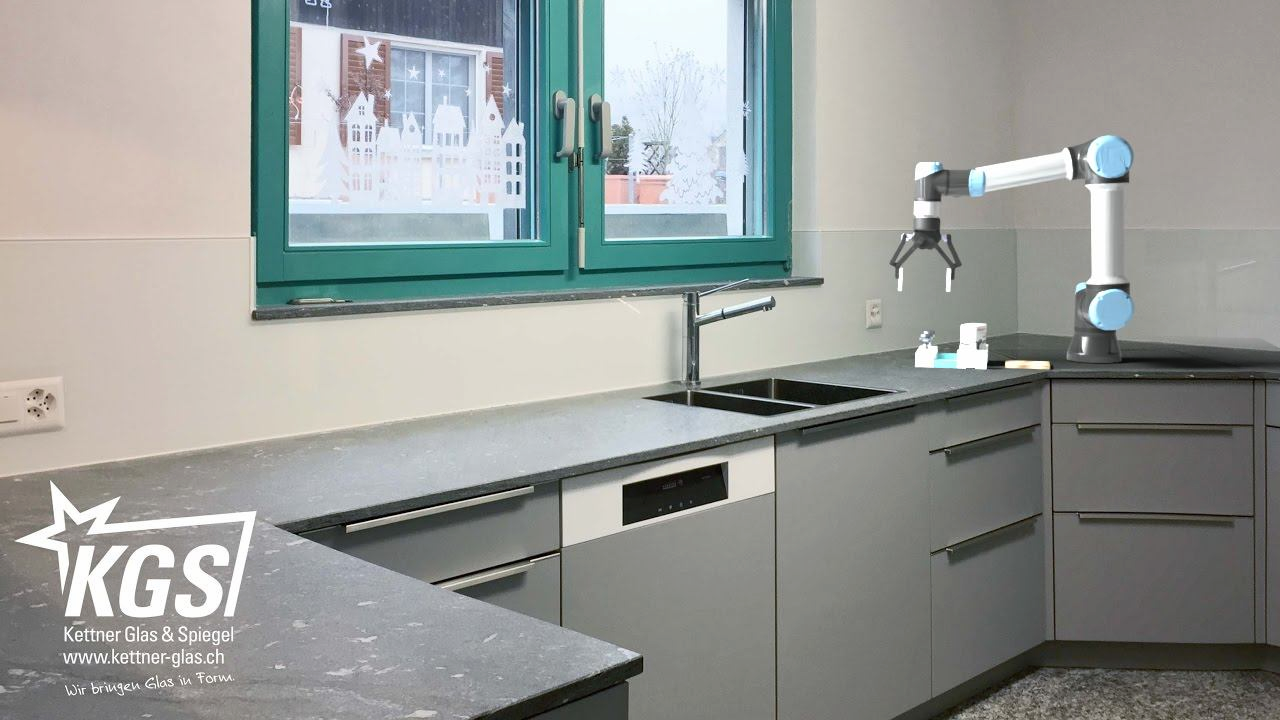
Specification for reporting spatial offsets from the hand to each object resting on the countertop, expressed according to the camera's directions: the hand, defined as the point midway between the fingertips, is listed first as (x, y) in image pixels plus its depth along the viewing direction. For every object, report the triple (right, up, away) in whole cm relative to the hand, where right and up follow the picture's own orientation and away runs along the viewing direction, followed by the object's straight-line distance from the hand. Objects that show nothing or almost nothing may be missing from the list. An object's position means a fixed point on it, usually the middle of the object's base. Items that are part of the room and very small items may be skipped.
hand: (924, 291), depth 349 cm
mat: (+28, -22, -4) cm, 36 cm away
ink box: (+14, -22, 0) cm, 26 cm away
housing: (+9, -21, +2) cm, 23 cm away
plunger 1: (+3, -18, +8) cm, 20 cm away
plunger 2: (0, -19, -1) cm, 19 cm away
